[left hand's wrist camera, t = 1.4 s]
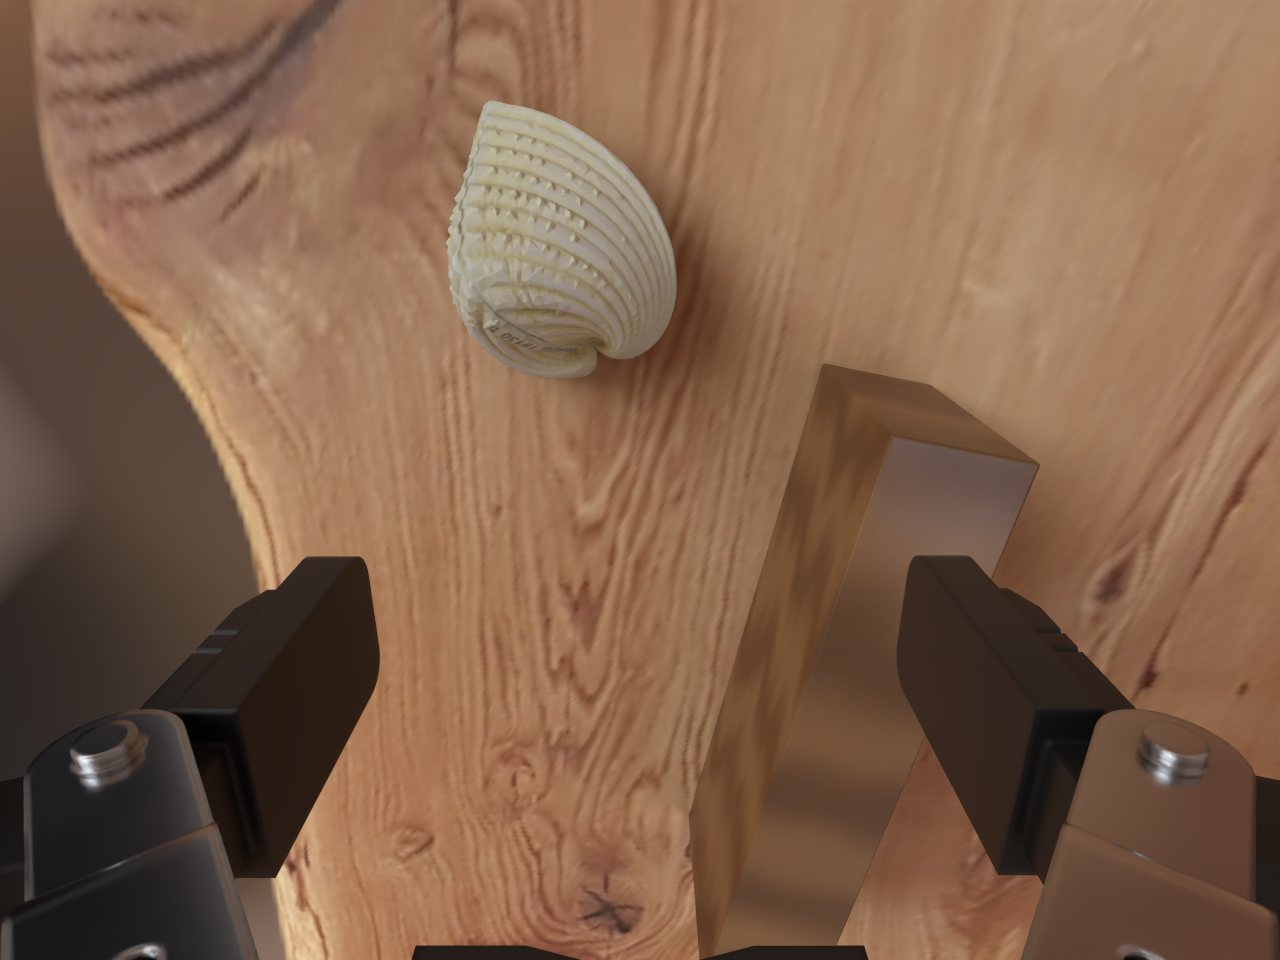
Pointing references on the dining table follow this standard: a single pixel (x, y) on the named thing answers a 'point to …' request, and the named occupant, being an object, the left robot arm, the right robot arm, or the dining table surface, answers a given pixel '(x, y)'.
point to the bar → (837, 656)
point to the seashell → (556, 248)
